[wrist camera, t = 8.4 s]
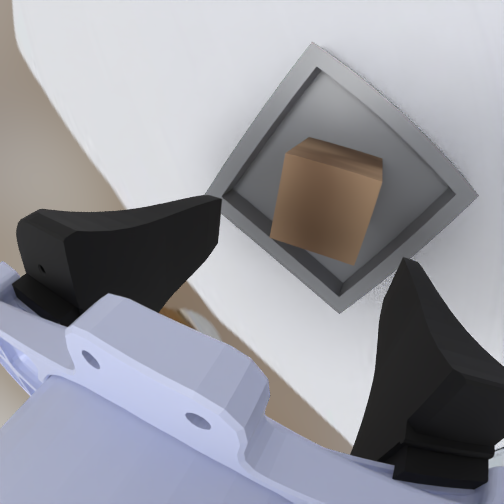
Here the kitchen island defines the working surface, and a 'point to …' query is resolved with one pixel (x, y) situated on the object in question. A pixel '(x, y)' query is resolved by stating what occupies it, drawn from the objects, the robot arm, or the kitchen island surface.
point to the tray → (351, 136)
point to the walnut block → (326, 198)
